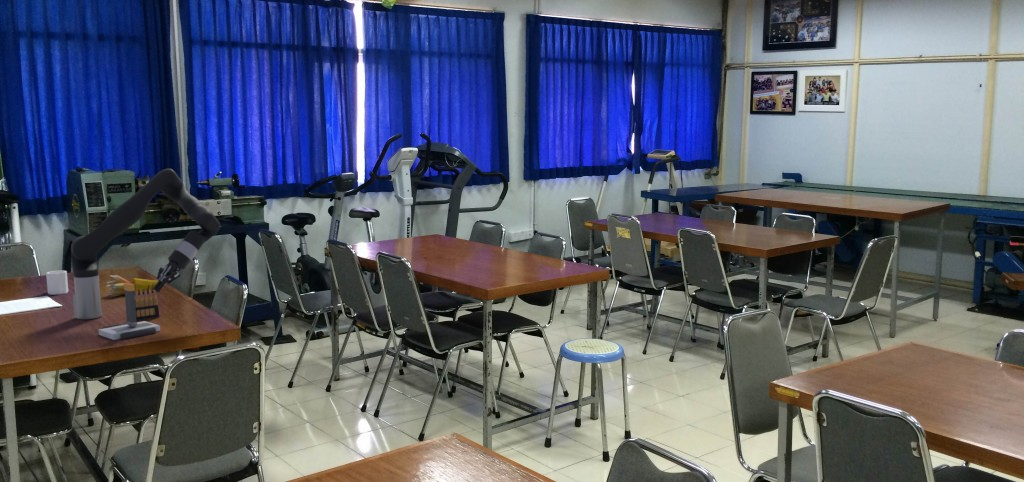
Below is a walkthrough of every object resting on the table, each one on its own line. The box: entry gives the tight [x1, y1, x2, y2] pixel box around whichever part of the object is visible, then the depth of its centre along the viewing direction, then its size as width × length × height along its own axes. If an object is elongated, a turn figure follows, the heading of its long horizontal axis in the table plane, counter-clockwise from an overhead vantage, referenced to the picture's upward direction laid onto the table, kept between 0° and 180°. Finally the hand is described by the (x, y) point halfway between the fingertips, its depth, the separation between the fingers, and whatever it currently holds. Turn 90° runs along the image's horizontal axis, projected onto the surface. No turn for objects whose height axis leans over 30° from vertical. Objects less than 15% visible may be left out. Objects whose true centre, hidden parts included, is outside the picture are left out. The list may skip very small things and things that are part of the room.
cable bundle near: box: [120, 327, 157, 340], centre depth 333 cm, size 13×2×2 cm, turn 139°
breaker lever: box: [124, 283, 138, 327], centre depth 338 cm, size 2×4×16 cm, turn 49°
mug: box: [45, 269, 69, 296], centre depth 416 cm, size 12×9×10 cm
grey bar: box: [101, 322, 127, 329], centre depth 343 cm, size 13×2×2 cm, turn 139°
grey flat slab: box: [98, 320, 161, 341], centre depth 338 cm, size 18×12×2 cm, turn 139°
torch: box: [105, 274, 158, 298], centre depth 412 cm, size 8×8×25 cm
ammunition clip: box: [135, 289, 160, 321], centre depth 361 cm, size 11×2×12 cm, turn 128°
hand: (155, 290), depth 344 cm, fingers closed
